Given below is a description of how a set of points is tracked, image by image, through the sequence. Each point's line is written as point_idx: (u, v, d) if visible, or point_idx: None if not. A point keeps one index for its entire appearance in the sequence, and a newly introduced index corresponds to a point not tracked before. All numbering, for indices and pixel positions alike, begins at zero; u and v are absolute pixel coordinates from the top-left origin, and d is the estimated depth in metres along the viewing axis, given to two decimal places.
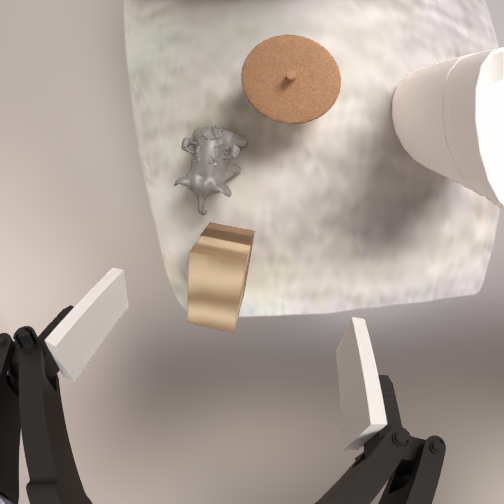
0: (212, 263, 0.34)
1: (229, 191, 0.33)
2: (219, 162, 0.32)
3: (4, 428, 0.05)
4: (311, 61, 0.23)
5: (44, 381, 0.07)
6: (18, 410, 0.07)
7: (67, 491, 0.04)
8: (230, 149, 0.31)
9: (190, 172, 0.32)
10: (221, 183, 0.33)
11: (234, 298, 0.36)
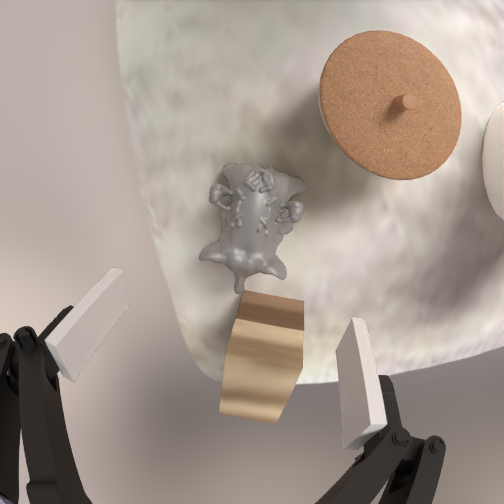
0: (258, 366, 0.23)
1: (285, 270, 0.22)
2: (272, 228, 0.21)
3: (4, 428, 0.05)
4: (428, 81, 0.12)
5: (44, 381, 0.07)
6: (18, 410, 0.07)
7: (67, 491, 0.04)
8: (289, 207, 0.20)
9: (224, 240, 0.22)
10: (273, 259, 0.22)
11: (282, 398, 0.25)
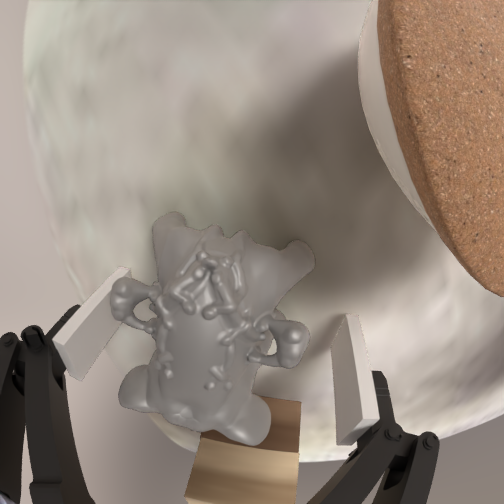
0: None
1: (267, 423, 0.11)
2: (240, 371, 0.09)
3: (8, 428, 0.05)
4: None
5: (51, 381, 0.08)
6: (23, 410, 0.07)
7: (71, 492, 0.04)
8: (278, 339, 0.09)
9: (153, 379, 0.10)
10: (246, 412, 0.10)
11: None
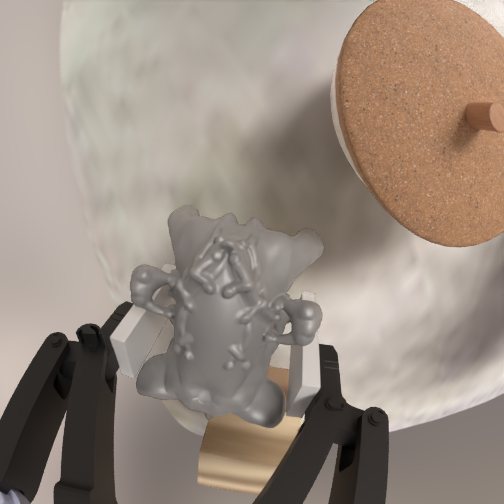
0: (241, 463, 0.15)
1: (283, 406, 0.11)
2: (256, 352, 0.10)
3: (39, 430, 0.06)
4: None
5: (102, 384, 0.08)
6: (60, 413, 0.08)
7: (99, 498, 0.04)
8: (293, 317, 0.09)
9: (171, 365, 0.11)
10: (262, 394, 0.11)
11: None
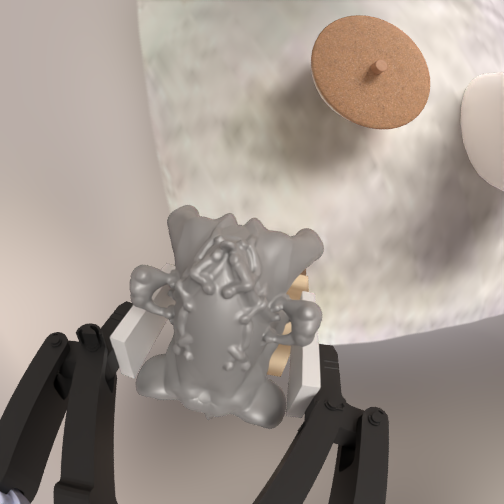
0: None
1: (283, 407, 0.11)
2: (256, 352, 0.10)
3: (39, 430, 0.06)
4: (398, 52, 0.15)
5: (102, 384, 0.08)
6: (60, 413, 0.08)
7: (99, 498, 0.04)
8: (292, 318, 0.09)
9: (171, 365, 0.11)
10: (262, 395, 0.11)
11: None
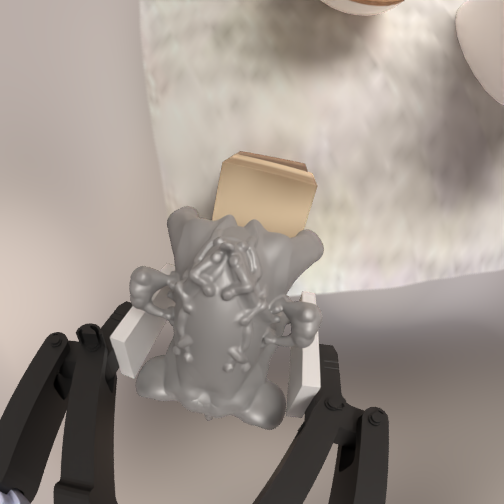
0: (261, 183, 0.19)
1: (283, 408, 0.11)
2: (256, 354, 0.10)
3: (39, 430, 0.06)
4: None
5: (102, 384, 0.08)
6: (60, 413, 0.08)
7: (99, 498, 0.04)
8: (292, 319, 0.09)
9: (171, 366, 0.11)
10: (262, 396, 0.11)
11: None
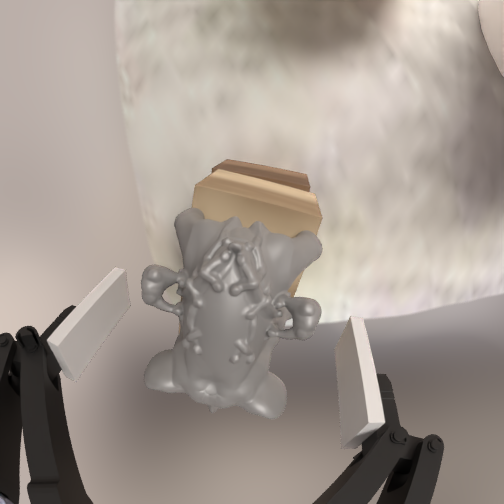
0: (247, 213, 0.15)
1: (284, 398, 0.12)
2: (260, 346, 0.11)
3: (5, 428, 0.05)
4: None
5: (46, 381, 0.07)
6: (19, 410, 0.07)
7: (68, 491, 0.04)
8: (294, 314, 0.10)
9: (179, 360, 0.12)
10: (265, 387, 0.12)
11: None
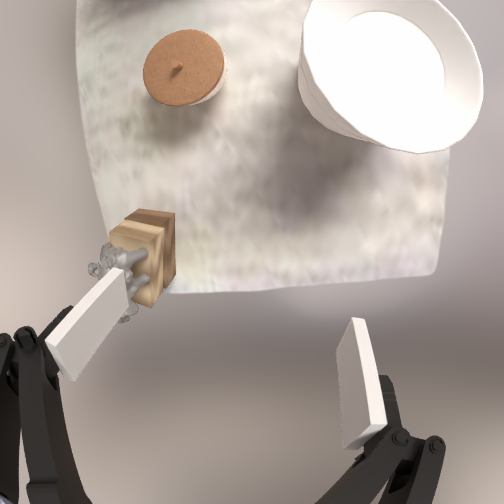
0: (126, 241, 0.36)
1: (134, 310, 0.34)
2: None
3: (4, 428, 0.05)
4: (196, 48, 0.25)
5: (44, 381, 0.07)
6: (18, 410, 0.07)
7: (67, 491, 0.04)
8: (124, 274, 0.32)
9: None
10: None
11: None
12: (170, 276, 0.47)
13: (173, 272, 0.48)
